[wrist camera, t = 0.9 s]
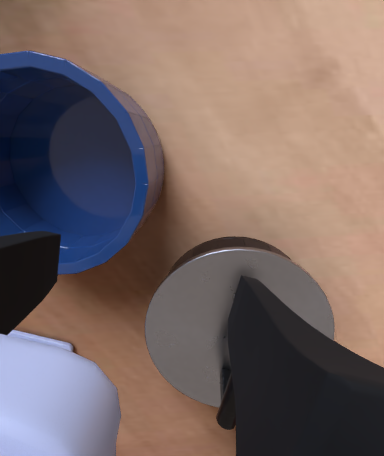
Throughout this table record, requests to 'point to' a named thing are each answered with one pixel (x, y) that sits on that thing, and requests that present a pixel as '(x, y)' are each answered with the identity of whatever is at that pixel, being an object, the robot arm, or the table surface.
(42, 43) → the table surface
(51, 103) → the pot
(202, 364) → the lid
